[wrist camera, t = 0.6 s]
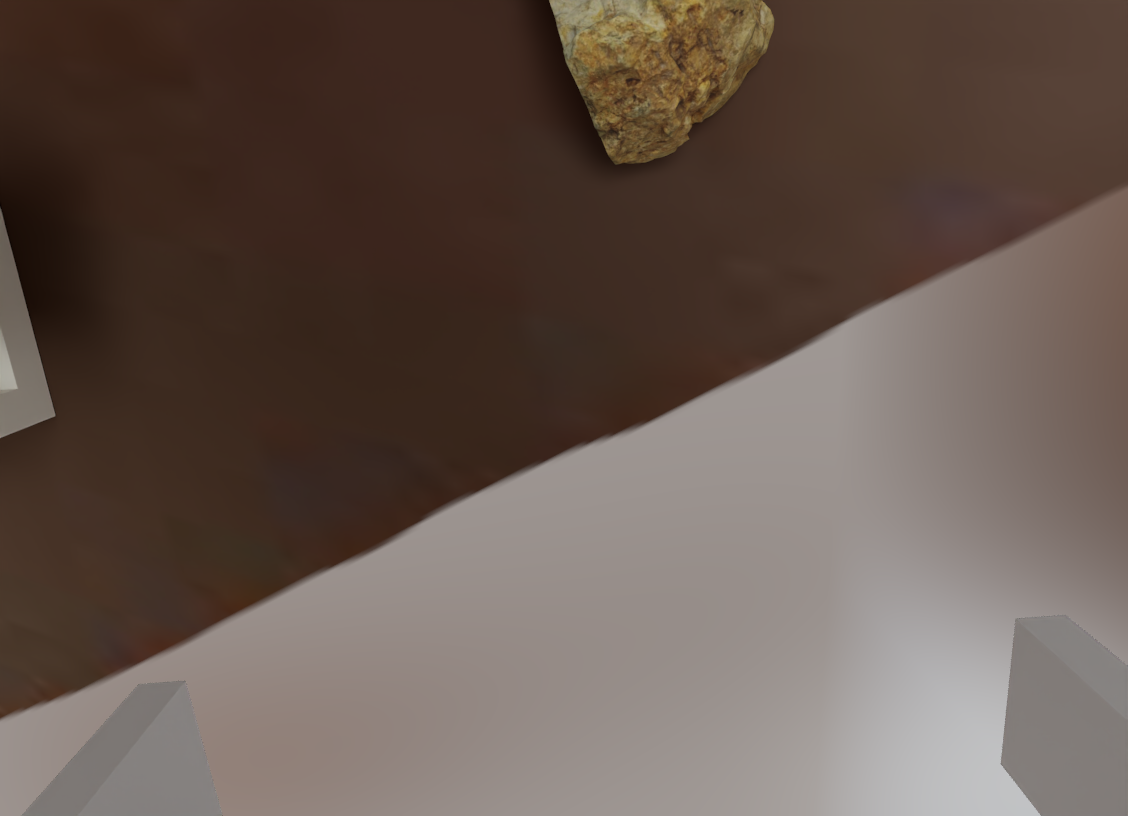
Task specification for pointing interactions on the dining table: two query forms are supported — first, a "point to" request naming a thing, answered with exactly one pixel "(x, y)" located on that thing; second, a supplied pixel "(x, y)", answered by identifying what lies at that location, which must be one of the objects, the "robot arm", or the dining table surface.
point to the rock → (658, 65)
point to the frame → (18, 353)
